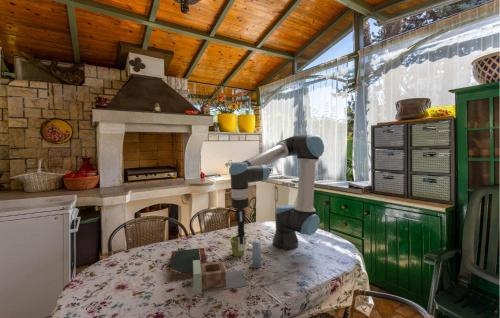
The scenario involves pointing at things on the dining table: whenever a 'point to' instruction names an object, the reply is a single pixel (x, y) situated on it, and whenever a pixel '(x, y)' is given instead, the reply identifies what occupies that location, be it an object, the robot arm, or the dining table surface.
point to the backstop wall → (197, 276)
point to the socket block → (213, 275)
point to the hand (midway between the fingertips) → (241, 249)
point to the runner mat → (231, 281)
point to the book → (185, 262)
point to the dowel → (256, 254)
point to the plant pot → (236, 246)
